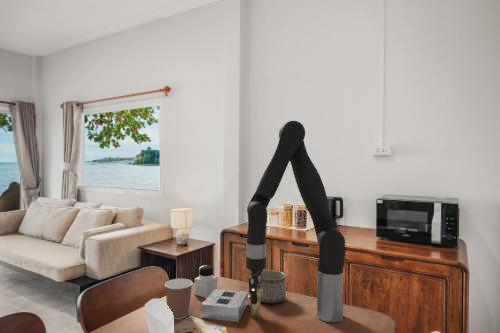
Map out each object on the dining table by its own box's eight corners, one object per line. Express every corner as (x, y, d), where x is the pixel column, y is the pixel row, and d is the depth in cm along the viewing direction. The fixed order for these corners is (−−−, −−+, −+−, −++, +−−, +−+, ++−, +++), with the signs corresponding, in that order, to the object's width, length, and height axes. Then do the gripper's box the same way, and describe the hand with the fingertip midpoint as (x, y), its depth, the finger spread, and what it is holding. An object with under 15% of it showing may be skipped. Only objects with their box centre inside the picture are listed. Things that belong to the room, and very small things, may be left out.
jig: (247, 304, 139) (248, 291, 139) (238, 322, 124) (238, 308, 124) (214, 300, 142) (214, 288, 142) (201, 317, 127) (201, 304, 127)
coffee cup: (176, 307, 136) (176, 276, 135) (197, 312, 131) (198, 281, 131) (158, 317, 126) (158, 285, 126) (181, 324, 122) (181, 290, 122)
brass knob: (263, 313, 131) (264, 287, 130) (261, 320, 125) (261, 293, 125) (249, 312, 132) (250, 286, 132) (246, 318, 127) (246, 291, 126)
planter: (274, 308, 136) (275, 282, 136) (249, 300, 143) (249, 275, 143) (291, 298, 146) (291, 274, 146) (266, 291, 153) (266, 268, 153)
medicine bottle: (217, 293, 151) (217, 265, 150) (207, 298, 145) (207, 270, 144) (204, 289, 154) (205, 263, 154) (194, 294, 148) (194, 267, 148)
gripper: (262, 261, 120) (262, 309, 121) (269, 251, 134) (268, 294, 135) (241, 259, 122) (241, 307, 122) (250, 249, 136) (249, 292, 136)
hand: (255, 300), depth 129 cm, fingers closed on brass knob, 5 cm apart
